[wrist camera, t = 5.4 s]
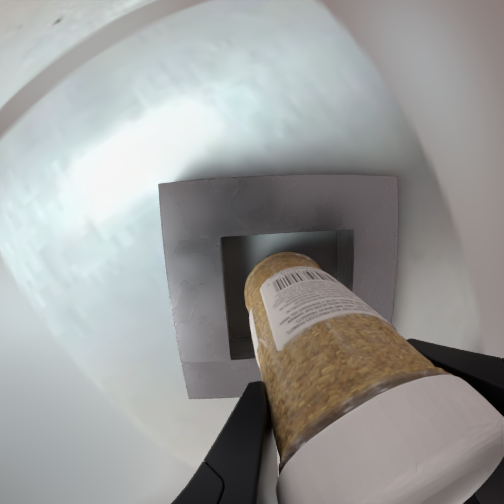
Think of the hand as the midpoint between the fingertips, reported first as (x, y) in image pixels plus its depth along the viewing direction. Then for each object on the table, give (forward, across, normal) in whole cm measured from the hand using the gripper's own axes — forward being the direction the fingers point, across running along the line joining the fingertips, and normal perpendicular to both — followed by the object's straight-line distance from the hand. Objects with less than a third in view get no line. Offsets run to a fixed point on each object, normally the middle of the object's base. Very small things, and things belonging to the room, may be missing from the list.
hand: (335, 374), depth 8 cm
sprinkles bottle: (+8, 0, 0) cm, 8 cm away
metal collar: (+9, 0, 0) cm, 9 cm away
